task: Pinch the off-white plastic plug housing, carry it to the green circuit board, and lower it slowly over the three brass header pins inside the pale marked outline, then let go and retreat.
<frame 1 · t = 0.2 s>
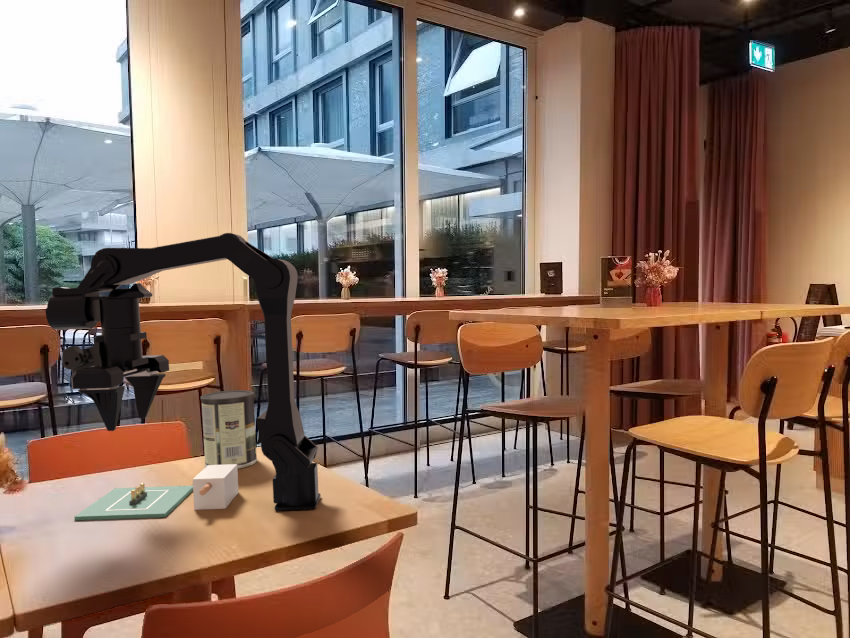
hand: (127, 424, 105), 14 cm above the table, fingers open, 9 cm apart
plug housing: (217, 500, 109), on the table
pin board: (138, 503, 109), on the table
coffee can: (230, 464, 132), on the table
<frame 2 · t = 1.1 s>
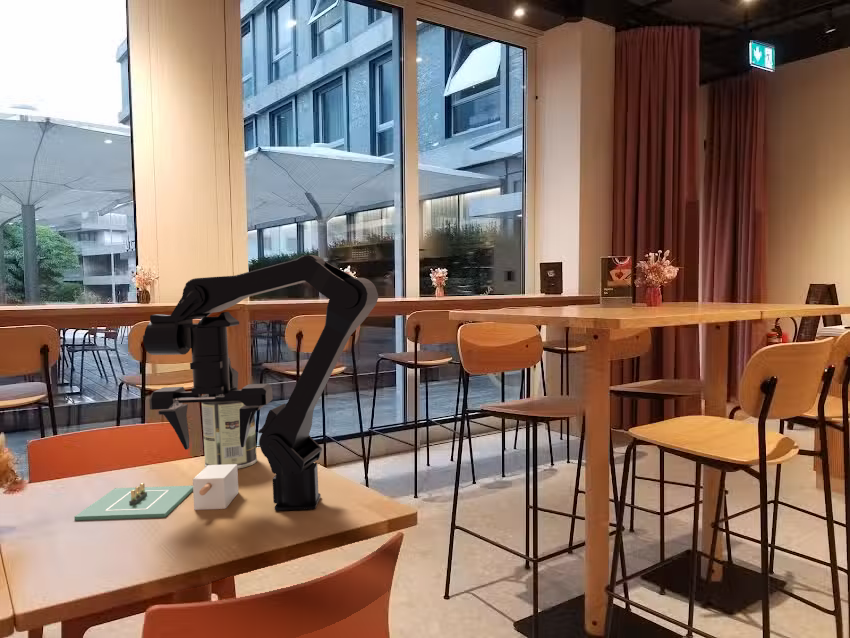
hand: (215, 447, 109), 9 cm above the table, fingers open, 9 cm apart
nothing on the table moved.
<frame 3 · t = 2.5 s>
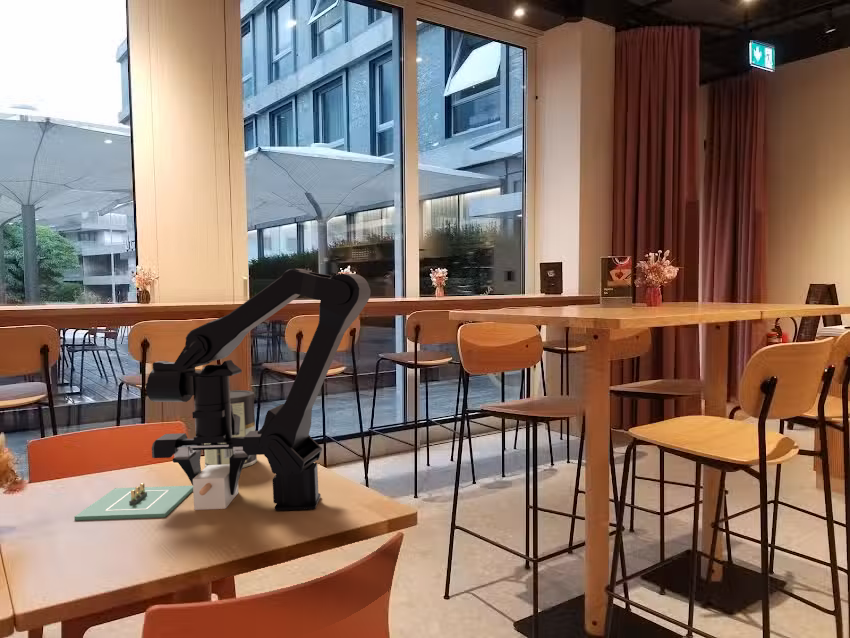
hand: (216, 494, 109), 1 cm above the table, fingers closed on plug housing, 5 cm apart
plug housing: (217, 500, 109), on the table, touching gripper
everything else where it was.
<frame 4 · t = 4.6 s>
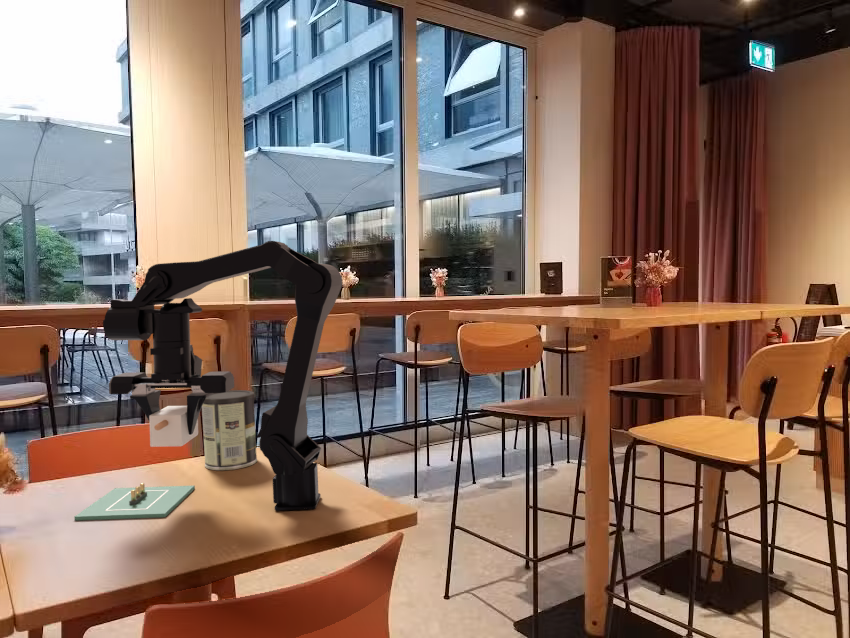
hand: (174, 434, 109), 11 cm above the table, fingers closed on plug housing, 5 cm apart
plug housing: (175, 440, 109), point 10 cm above the table, touching gripper
everything else where it was.
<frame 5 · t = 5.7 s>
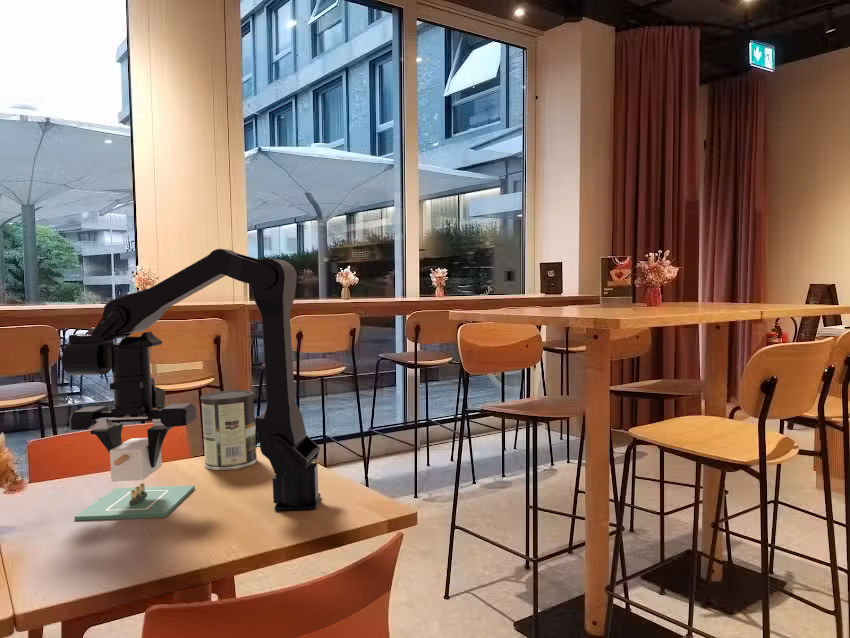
hand: (137, 467, 109), 6 cm above the table, fingers closed on plug housing, 5 cm apart
plug housing: (137, 473, 109), point 5 cm above the table, touching gripper
everything else where it was.
when the fingers open (2 cm above the table, at t = 6.8 s): plug housing stays where it is, resting on pin board.
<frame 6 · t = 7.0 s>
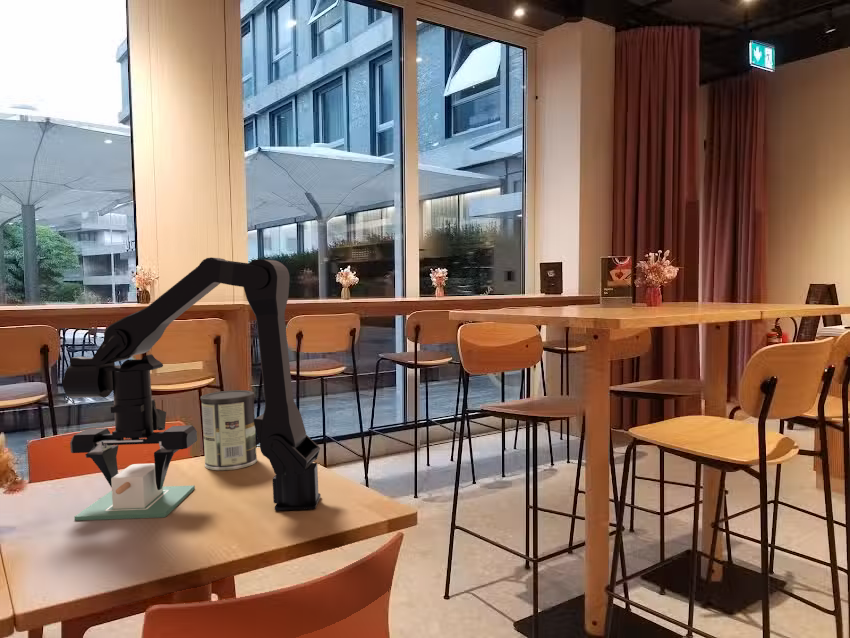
hand: (138, 490, 109), 2 cm above the table, fingers open, 7 cm apart
plug housing: (138, 499, 109), point 1 cm above the table, touching pin board
everything else where it was.
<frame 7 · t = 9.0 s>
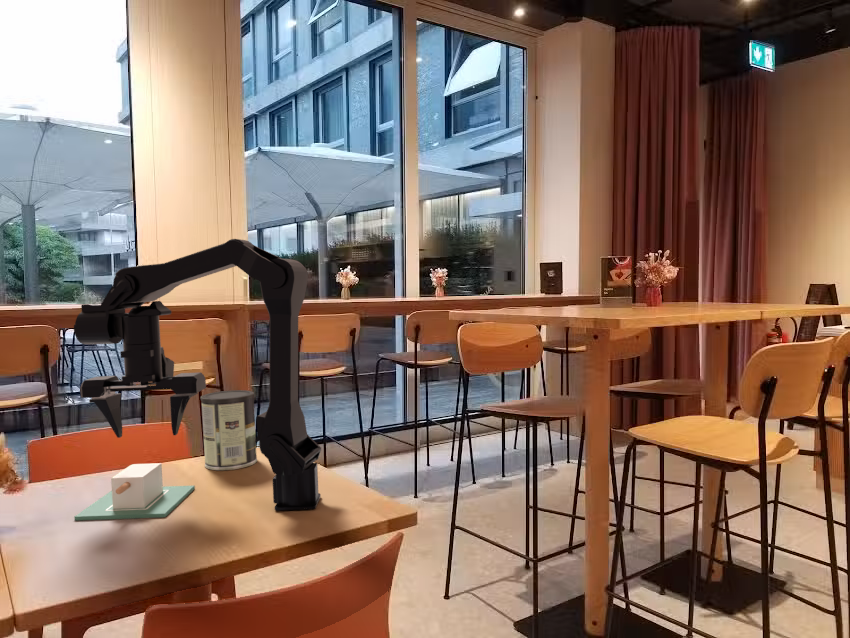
hand: (147, 436, 110), 11 cm above the table, fingers open, 9 cm apart
nothing on the table moved.
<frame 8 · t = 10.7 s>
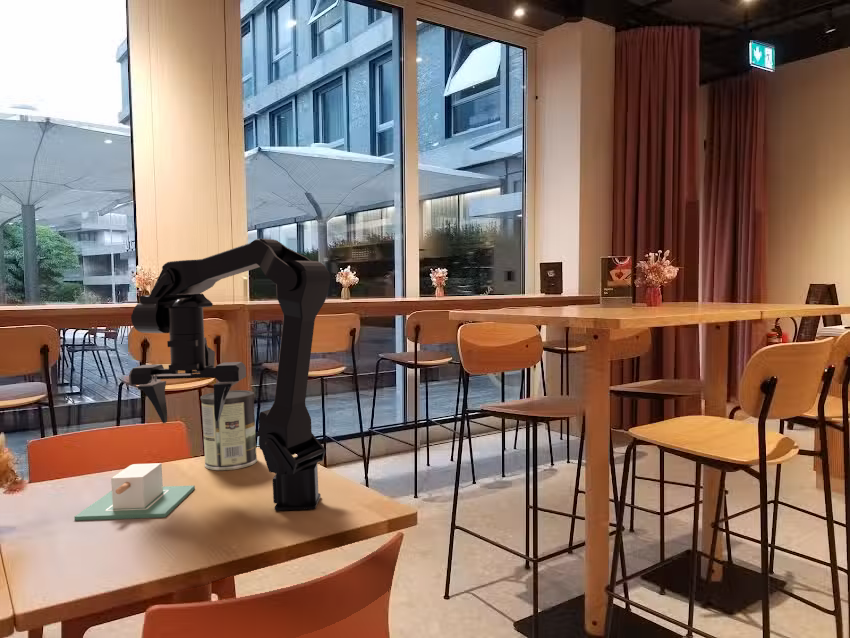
hand: (191, 421, 115), 12 cm above the table, fingers open, 9 cm apart
nothing on the table moved.
at the end: plug housing 0.1 cm off-centre on the pin board, point 0.6 cm above the pin board's base; plug housing tilted 0°; the gripper is holding nothing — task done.
